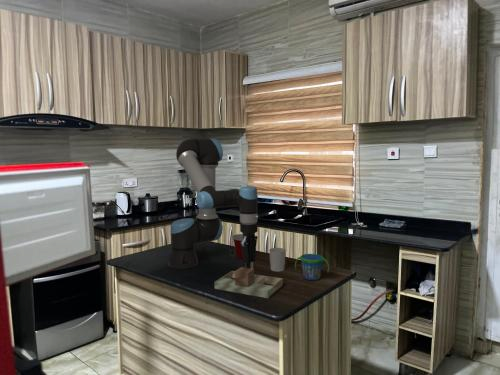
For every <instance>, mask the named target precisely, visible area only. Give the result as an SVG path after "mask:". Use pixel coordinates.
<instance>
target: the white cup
mask: <svg viewBox="0 0 500 375" xmlns="http://www.w3.org/2000/svg"><path fill="white" fill-rule="evenodd" d="M268 251H269V264H270V266H269V267H270V271H272V272H275V273H276V272H283V271H285V266H286V263H285V262H286V249H285V248H283V247H272V248H270V249H269V250H268Z"/></svg>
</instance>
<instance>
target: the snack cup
mask: <svg viewBox="0 0 500 375" xmlns="http://www.w3.org/2000/svg"><path fill="white" fill-rule="evenodd" d="M298 260H300V262H301V266H302V267H301V268H302V269H301V270H302V276H303V278H304V279H305V280H307V281H318V280H320V279H321V274H322V269H323V268H322V267H323V264H324V262H325V263H326V265H327V274H329V271H330V264H329V261H328V259H326V258H324V256H322V255H321V254H318V253H304V254H301V255H300V256H299V257H297V258H296V260H295V263H294V269H295V271H297V270H298V266H297V261H298Z"/></svg>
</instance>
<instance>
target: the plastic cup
mask: <svg viewBox="0 0 500 375" xmlns="http://www.w3.org/2000/svg"><path fill="white" fill-rule="evenodd" d="M232 239H233V243H234V244H233V245H234V249H235V254H236V259H239V260H243V257H242V250H241V245H240V242H242V241H243V233H238V234H234V235H232Z"/></svg>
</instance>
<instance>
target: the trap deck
mask: <svg viewBox="0 0 500 375" xmlns="http://www.w3.org/2000/svg"><path fill="white" fill-rule="evenodd" d="M235 271H236V270H231V271H229V272H228V273H226V274H225V275H223V276H222V277H219V278H218V279H217V280H214V289H215V290H220V291H226V292H231V293H237V294H243V295H248V296H253V297H260V298H264V299H270V297H271V296H273V295H274V294H275V293H276V292H277V291H278V290H279V289H280V288H281V287H282V286H283V285H284V284H283V280H284V279H283V278H281V277H275V276H268V275H262V274H256V273H254V283H253V284H252V285H250V286H249V287H243V286H237V285H235Z"/></svg>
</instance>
